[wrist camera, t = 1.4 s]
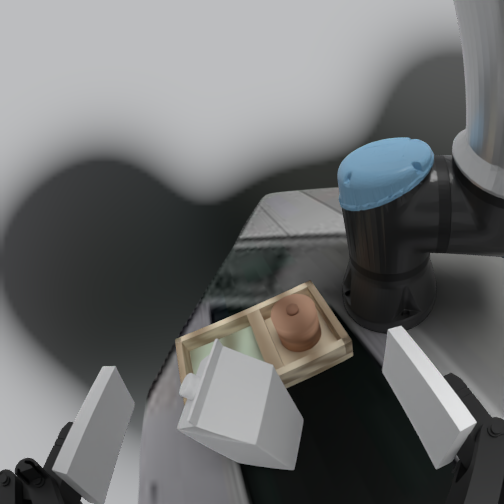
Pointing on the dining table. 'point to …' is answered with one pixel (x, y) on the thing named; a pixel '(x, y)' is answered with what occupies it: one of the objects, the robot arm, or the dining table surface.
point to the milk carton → (241, 410)
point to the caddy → (275, 336)
